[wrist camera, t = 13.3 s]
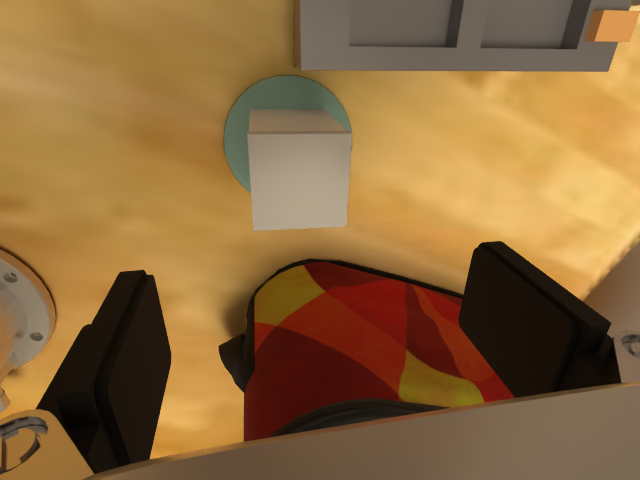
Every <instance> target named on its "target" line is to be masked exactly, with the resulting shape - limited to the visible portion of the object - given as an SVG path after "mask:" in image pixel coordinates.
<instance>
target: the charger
mask: <svg viewBox="0 0 640 480" xmlns="http://www.w3.org/2000/svg"><path fill="white" fill-rule="evenodd" d="M247 137H248V152H249V168H250V184H251V200H252V215H253V231H264V230H286V229H307V228H329V227H346V223H347V207H348V191H349V175H350V159H351V144H352V133H351V132H350V131H347V130H346V129H344V128H343V127H342V126H341V125H340V124H339V123H338V122H337V121H336V120H335V119H334V118H333V117H332V116H331V115H330V114H329V113H327V112H326V111H325V110H324V109H250V115H249V131H248V132H247Z"/></svg>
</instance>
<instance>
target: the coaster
mask: <svg viewBox="0 0 640 480" xmlns="http://www.w3.org/2000/svg"><path fill="white" fill-rule="evenodd" d="M250 109H324V110H325V111H326V112H327V113H329V114H330V115H331V116H332V117H333V118H334V119H335V120H336V121H337V122H338V123H339V124H340V125H341V126H342V127H343V128H344V129H346V130H347V131H350V132H351V126H350V122H349V119H348V116H347V114H346V112H345V110H344V108H343V106H342V105H341V103H340V102H339V101H338V99H337V98H336V97H335V96H334V95H333V94H332V93H331V92H330V91H329V90H328V89H326V88H325V87H323V86H322V85H320V84H319V83H317V82H315V81H313V80H310V79H307V78H304V77H300V76H293V75H282V76H275V77H270V78H267V79H265V80H262V81H260V82H258V83H256V84H254V85H253V86H251V87H250V88H249V89H247V90H246V91H245V92H244V93H243V94H242V95H241V96H240V97H239V99H238V100H237V101H236V102H235V104H234V106H233V107H232V109H231V111H230V113H229V116H228V119H227V121H226V126H225V131H224V149H225V155H226V158H227V162H228V164H229V167H230V169H231V171H232V173H233V174H234V176H235V177H236V179H237V180H238V181H239V182H240V184H241V185H242V186H243V187H244V188H246V189H247V190H248V191H249V192H251V184H250V168H249V152H248V137H247V132H248V131H249V115H250ZM351 133H352V132H351ZM351 149H352V144H351Z"/></svg>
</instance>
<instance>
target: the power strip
mask: <svg viewBox="0 0 640 480" xmlns="http://www.w3.org/2000/svg"><path fill="white" fill-rule="evenodd" d="M638 5H640V0H294V38H295V67H296V68H298V69H300V70H364V71H585V72H608V70H609V68H610V65H611V62H612V59H613V56H614V53H615V50H616V47H617V44H618V42H629V41H630V39H631V36H632V33H633V30H634V27H635V24H636V21H637V19H638V16H639V13H640V11H629V8H630V6H638Z"/></svg>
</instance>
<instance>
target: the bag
mask: <svg viewBox="0 0 640 480" xmlns="http://www.w3.org/2000/svg"><path fill="white" fill-rule="evenodd" d="M462 299H463V295H462V294H459V293H456V292H452V291H449V290H446V289H442V288H439V287H436V286H432V285H429V284H425V283H422V282H419V281H416V280H412V279H409V278H405V277H402V276H398V275H394V274H390V273H386V272H382V271H378V270H375V269H371V268H367V267H363V266H359V265H355V264H351V263H347V262H343V261H332V260H316V259H307V260H303V261H299V262H294V263H292V264H290V265H288V266H285V267H283V268H281V269H279V270H278V271H277V272H276V273H275V274H274V275H273V276H272V277H270V278H269V279H268V280H267V281H266V282H265V283H264V284H262V285H261V286H260V287H259V288H258V289H257V290H256V291H255V293H254V295H253V297H252V298H251V300H250V302H249V306H248V310H247V325H246V336H245V335H244V334H241V335H239V336H237V337H235V338H233V339H231V340H229V341H227V342H225V343H223V344H222V345H220V346H219V353H220V357H221V360H222V362H223V364H224V366H225V368H226V369H227V370H228V371H229V373H230V374H231V375H232V377H233V380H234V382H235V384H236V385H237V386H238V387H239V388H240V389H241V390H242V391H243V392H244V442H245V441H251V440H257V439H263V438H269V437H275V436H281V435H288V434H294V433H300V432H306V431H312V430H318V429H324V428H330V427H336V426H342V425H348V424H354V423H360V422H366V421H373V420H379V419H385V418H391V417H398V416H404V415H410V414H416V413H423V412H429V411H435V410H442V409H448V408H454V407H461V406H467V405H473V404H480V403H486V402H493V401H499V400H506V399H512V398H515V397H514V396H513V395H512V394H511V392H510V391H509V390H508V388H507V387H506V386H505V385H504V383H503V382H502V381H501V379H500V378H499V377H498V376H497V374H496V373H495V372H494V370H493V369H492V368H491V367H490V365H489V364H488V363H487V362H486V360H485V359H484V358H483V356H482V355H481V354H480V353H479V351H478V350H477V349H476V347H475V346H474V345H473V344H472V342H471V341H470V340H469V338H468V337H467V336H466V335H465V333H464V332H463V331H462V329H461V328H460V325H459V320H458V318H459V313H460V308H461V304H462Z"/></svg>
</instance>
